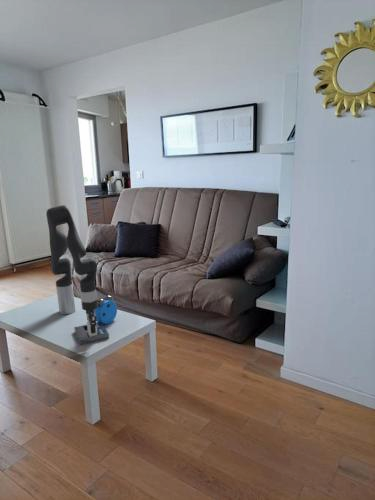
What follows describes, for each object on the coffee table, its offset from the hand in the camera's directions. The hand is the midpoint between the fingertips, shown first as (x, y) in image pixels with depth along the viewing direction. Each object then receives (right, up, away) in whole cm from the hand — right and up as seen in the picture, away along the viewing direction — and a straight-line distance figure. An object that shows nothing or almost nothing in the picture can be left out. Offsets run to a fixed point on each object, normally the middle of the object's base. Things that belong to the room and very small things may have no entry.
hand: (92, 331), depth 173 cm
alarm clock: (+2, 0, +20) cm, 20 cm away
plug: (0, -3, +1) cm, 3 cm away
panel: (-2, -4, +5) cm, 6 cm away
